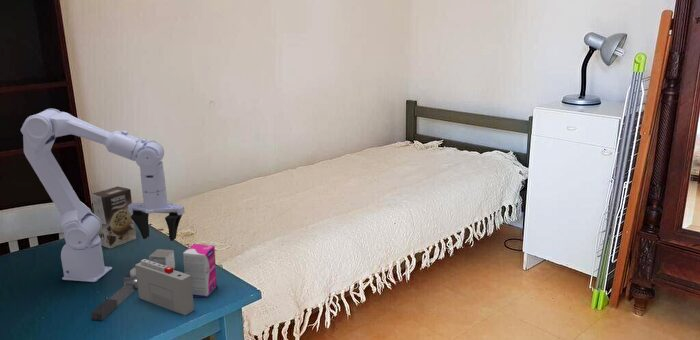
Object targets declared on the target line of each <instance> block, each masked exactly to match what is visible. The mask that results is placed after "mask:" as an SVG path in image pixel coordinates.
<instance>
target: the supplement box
mask: <svg viewBox="0 0 700 340" xmlns="http://www.w3.org/2000/svg"><path fill="white" fill-rule="evenodd" d="M182 256H183V258H182V259H183V268H184V272H183V273H185V274H188V275H191V283H192V293H193V297H198V298H205V299H207V298H208V297H209V296H210V295H211V293H212V292H213V291H215V289H217V287H218V285H217V282H218V281H217V268H216V267H217V265H216V248H215V246H214V245H210V244H209V245H208V244H197V243H193V244H192V245H191V246H190V247H189V248H187V249H186V250H185V251H183V253H182Z"/></svg>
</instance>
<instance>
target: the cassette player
mask: <svg viewBox="0 0 700 340" xmlns="http://www.w3.org/2000/svg"><path fill="white" fill-rule="evenodd" d="M134 268H135V269H136V277H137V284H138V290H137V292H138V298H139V299H140V300H144V301H146V302H148V303H151V304H154V305H157V306H159V307H162V308H164V309H167V310H169V311H173V312H176V313H177V314H181V315H182V316H188V314H190V313H192V312H193V311H195V305H194V296H193V293H192V283H191V275H188V274H185V272H182V271H178V270H175V269H173V268H171V267H168V266H165V265H162V264H159V263H156V262H152V261H149V259H146V258H144V259H141V260H140V262H138V263H136V264H134Z"/></svg>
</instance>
